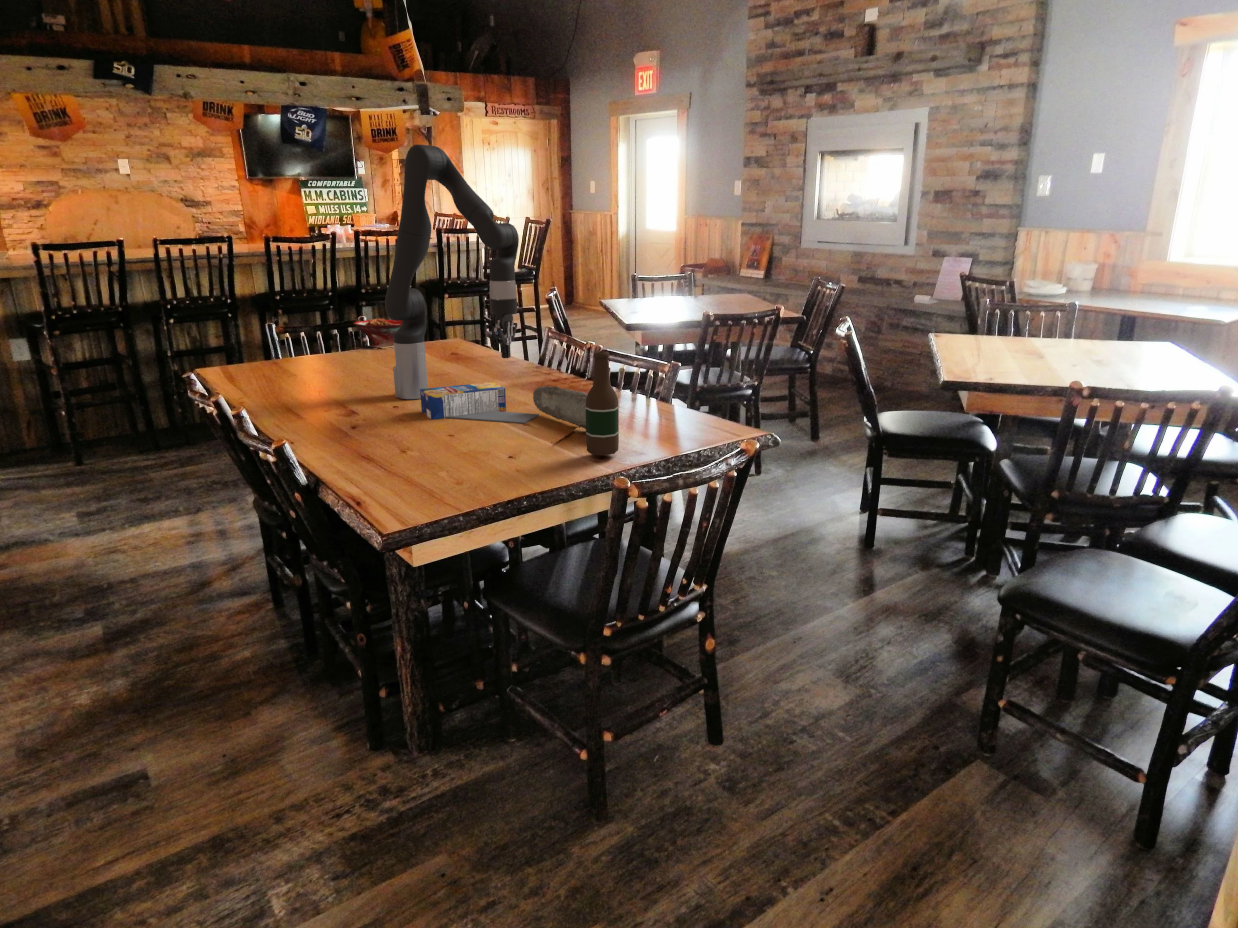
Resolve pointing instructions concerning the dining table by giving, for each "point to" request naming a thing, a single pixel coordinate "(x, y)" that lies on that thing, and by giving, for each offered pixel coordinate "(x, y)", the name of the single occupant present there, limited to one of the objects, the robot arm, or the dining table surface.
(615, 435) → the beer bottle
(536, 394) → the elongated rock
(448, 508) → the dining table surface
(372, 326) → the stew
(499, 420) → the mat
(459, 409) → the beverage box
